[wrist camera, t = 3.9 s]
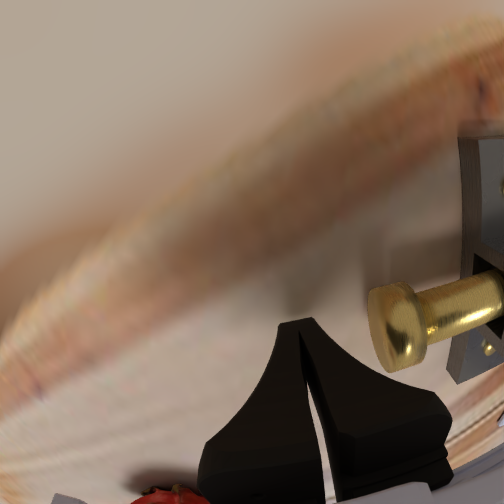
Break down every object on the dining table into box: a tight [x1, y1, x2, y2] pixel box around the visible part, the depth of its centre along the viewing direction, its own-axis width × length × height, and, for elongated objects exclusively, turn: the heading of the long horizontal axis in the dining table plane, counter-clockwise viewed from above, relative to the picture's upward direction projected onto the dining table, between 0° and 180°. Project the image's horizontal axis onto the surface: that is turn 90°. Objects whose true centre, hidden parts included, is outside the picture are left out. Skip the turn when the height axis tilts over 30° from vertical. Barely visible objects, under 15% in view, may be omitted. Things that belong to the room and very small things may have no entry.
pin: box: [367, 267, 504, 373], centre depth 11 cm, size 3×11×3 cm, turn 102°
